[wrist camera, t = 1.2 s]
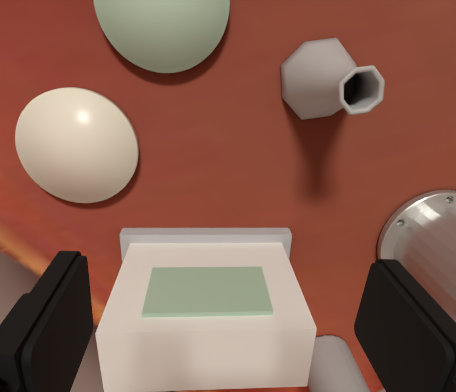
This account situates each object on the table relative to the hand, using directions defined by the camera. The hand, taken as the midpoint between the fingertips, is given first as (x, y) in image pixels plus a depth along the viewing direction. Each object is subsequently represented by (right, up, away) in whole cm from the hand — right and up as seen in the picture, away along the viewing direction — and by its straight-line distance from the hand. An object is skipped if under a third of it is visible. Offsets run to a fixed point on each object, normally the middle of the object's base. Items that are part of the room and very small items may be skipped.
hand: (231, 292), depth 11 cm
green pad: (-5, +19, +18) cm, 27 cm away
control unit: (-2, -4, +28) cm, 28 cm away
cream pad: (-14, +8, +22) cm, 27 cm away
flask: (+8, +14, +21) cm, 27 cm away
